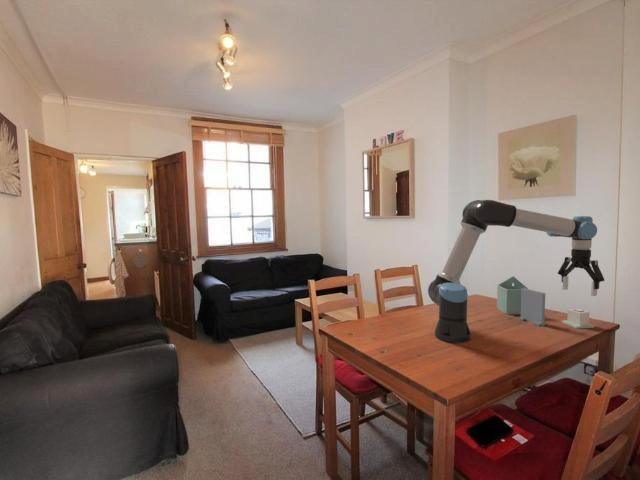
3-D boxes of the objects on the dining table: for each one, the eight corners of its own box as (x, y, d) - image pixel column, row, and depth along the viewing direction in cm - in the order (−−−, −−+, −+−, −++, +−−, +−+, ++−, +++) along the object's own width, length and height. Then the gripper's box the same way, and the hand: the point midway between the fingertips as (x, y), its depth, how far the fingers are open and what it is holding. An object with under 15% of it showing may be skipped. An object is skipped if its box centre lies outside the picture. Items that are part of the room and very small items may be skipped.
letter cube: (579, 325, 163) (580, 312, 163) (567, 321, 169) (567, 309, 168) (588, 324, 165) (589, 311, 164) (576, 320, 171) (576, 308, 170)
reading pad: (576, 328, 162) (576, 326, 162) (561, 322, 171) (562, 320, 171) (594, 327, 163) (594, 325, 163) (579, 321, 172) (579, 319, 172)
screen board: (546, 325, 168) (548, 292, 166) (539, 326, 166) (540, 293, 165) (525, 318, 179) (526, 287, 178) (517, 319, 178) (518, 288, 176)
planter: (491, 311, 193) (491, 276, 191) (497, 308, 198) (497, 274, 196) (523, 317, 180) (524, 280, 179) (528, 314, 185) (529, 278, 184)
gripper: (616, 251, 153) (613, 297, 155) (561, 245, 177) (559, 286, 179) (604, 251, 151) (601, 299, 153) (550, 246, 175) (548, 287, 176)
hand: (578, 292), depth 166 cm, fingers open, 13 cm apart
